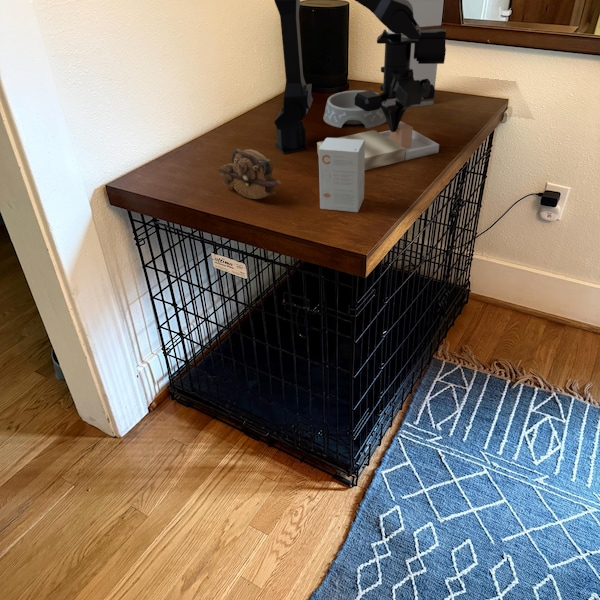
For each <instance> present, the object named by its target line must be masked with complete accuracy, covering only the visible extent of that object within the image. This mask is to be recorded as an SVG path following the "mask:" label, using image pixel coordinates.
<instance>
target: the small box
mask: <svg viewBox="0 0 600 600" xmlns="http://www.w3.org/2000/svg"><path fill="white" fill-rule="evenodd" d="M323 141H324V142H323V143H322V145H321V146H320V147H319V149H318V152H319V155H318V173H319V174H318V176H319V177H318V178H319V180H318V181H319V185H318V186H319V208H320V209H321V210H331V211H340V212H341V211H342V212H351V213H359V210H360V208H361V206H362V204H363V201H364V199H365V170H364V168H365V140H358V139H342V138H339V137H326V138H325V139H324V140H323Z"/></svg>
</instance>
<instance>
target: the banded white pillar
mask: <svg viewBox="0 0 600 600" xmlns="http://www.w3.org/2000/svg"><path fill="white" fill-rule="evenodd" d="M407 1H409V2H410V3H411V5H412V7H413V18H414V19H415V21H416V22H417V24H418V25H419V27H420V31H435V30H440V29H442V19H443V13H444V12H443V11H444V0H407ZM387 29H388V28H387ZM387 32H388V33H389V34H394V33H393V32H392V31H390V30H389V29H388V30H387ZM401 37H406V36H405V35H404V34H402V33H401ZM417 40H418V39H417ZM414 44H415V43H411V57H410V69H413V77H414V80H419V81H420V80H422V79H428V80H429V81H430V84H432V85H433V86H434V88H435V89H436V82H437V80H436V79H437V70H438V64H418V61H416V59H414ZM434 100H435V97H434V98H431V99H426V100H424V99H423V98H422V101H421V104H419V105H417V104H415V105H412V106H410V107H409V108H411V107H421V106H432V105H434V102H435V101H434Z"/></svg>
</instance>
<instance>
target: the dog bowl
mask: <svg viewBox="0 0 600 600" xmlns="http://www.w3.org/2000/svg"><path fill="white" fill-rule="evenodd" d="M364 91H365V90H362V89H361V90H359V89H358V90H356V89H355V90H354V89H353V90H346V91H342V92H337V93H334V94H332V95H330V96H329V97H328V98H327V101H326V104H325V109H324V113H323V121H324V122H325V123H326V124H327V125H329V126H332V127H336V128H340V129H341V128H342V127H343V125H344V124H345V125H346V124H347V125H364V128H365V129H371V128H374V127H379V126H381V125H383V124H385V123H386V122H387V120H386V117H385V115H384V113H383V111H382V109H381V107H380V108H379V109H378V110H373V111H365V110H363V109H361V108H359V107H358V106H356V105H355V96H356V95H357V93H359V92H364ZM373 92H374V91H373ZM374 93H376V94H379V93H378V92H376V91H375V92H374Z"/></svg>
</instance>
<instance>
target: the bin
mask: <svg viewBox="0 0 600 600" xmlns="http://www.w3.org/2000/svg"><path fill="white" fill-rule="evenodd" d="M379 133H380V134H382V135H384V136H385V137H387V138H389V139H390V129H389V130H385V131H380V132H379ZM439 150H440V144H439V143H437V142H436V141H433V140H432V139H430V138H428V137H426V136H425V135H423V134H421V133H419V132H418V131H416V130H414V129H413V130H412V143H411V148H406V149H405V157H404V161H408V160H409V161H410V160H412V159H417V158H421V157H426V156H428V155H434V154H438V153H439Z"/></svg>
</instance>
